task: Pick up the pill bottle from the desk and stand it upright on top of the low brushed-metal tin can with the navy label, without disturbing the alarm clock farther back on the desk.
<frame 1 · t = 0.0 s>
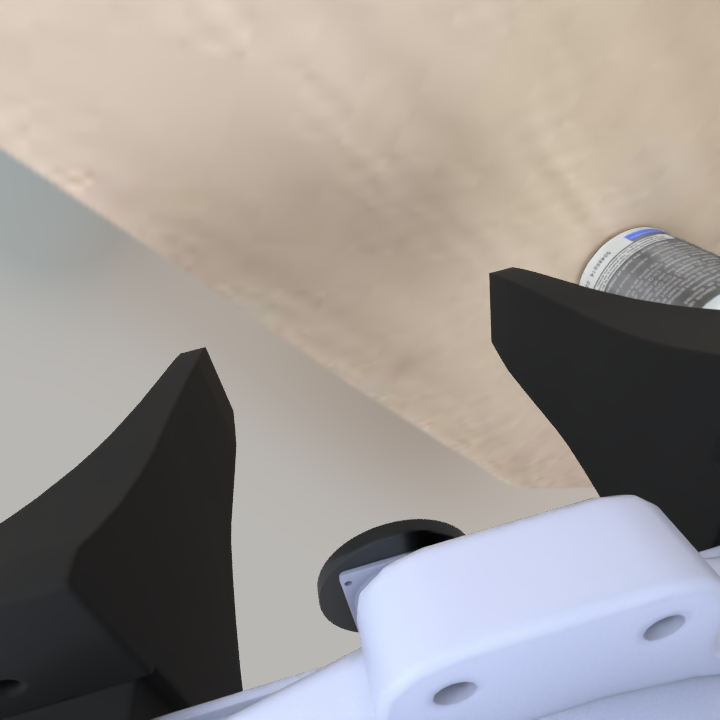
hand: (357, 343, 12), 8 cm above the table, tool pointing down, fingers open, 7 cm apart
pill bottle: (621, 274, 22), on the table
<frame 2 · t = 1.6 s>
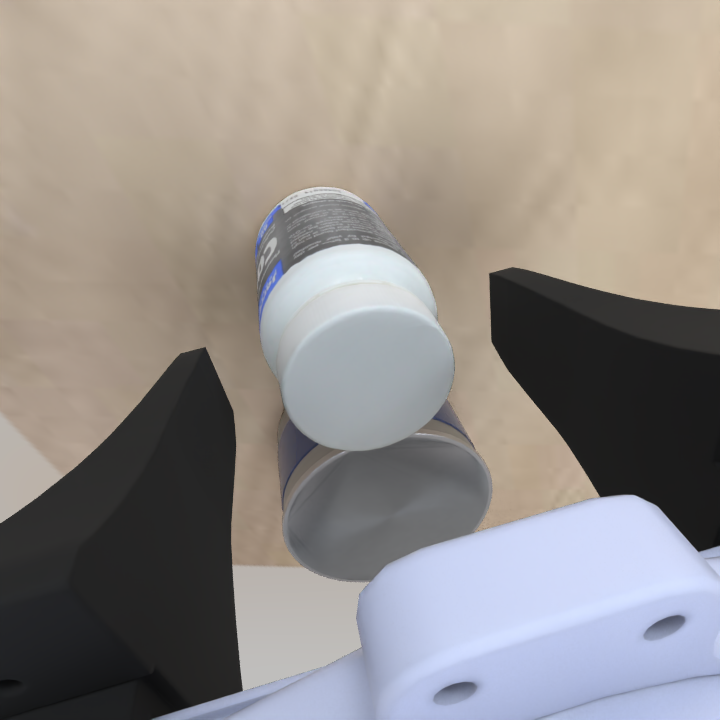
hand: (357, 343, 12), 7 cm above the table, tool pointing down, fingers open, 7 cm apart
pill bottle: (320, 250, 18), on the table
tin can: (364, 430, 23), on the table
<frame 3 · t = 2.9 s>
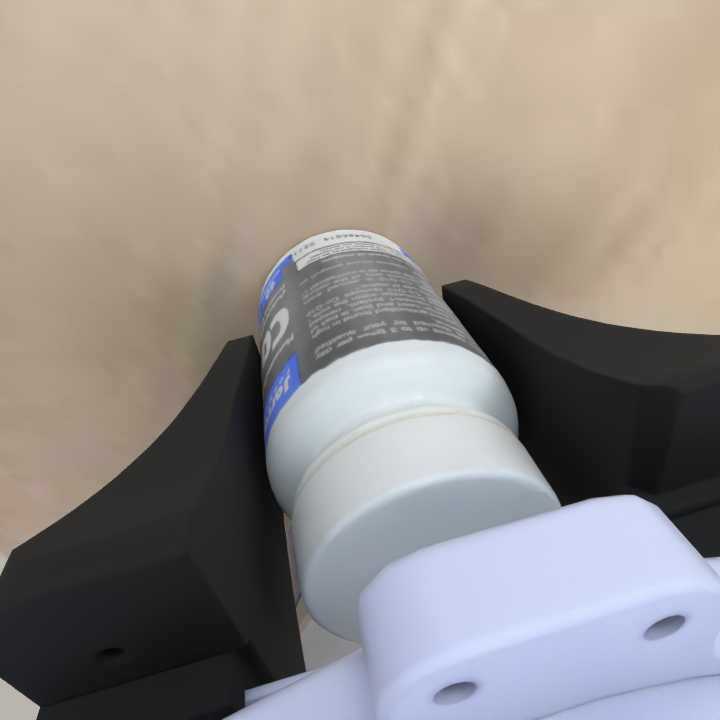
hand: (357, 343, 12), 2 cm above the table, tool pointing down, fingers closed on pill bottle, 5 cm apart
pill bottle: (341, 305, 14), on the table, touching gripper
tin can: (389, 507, 19), on the table
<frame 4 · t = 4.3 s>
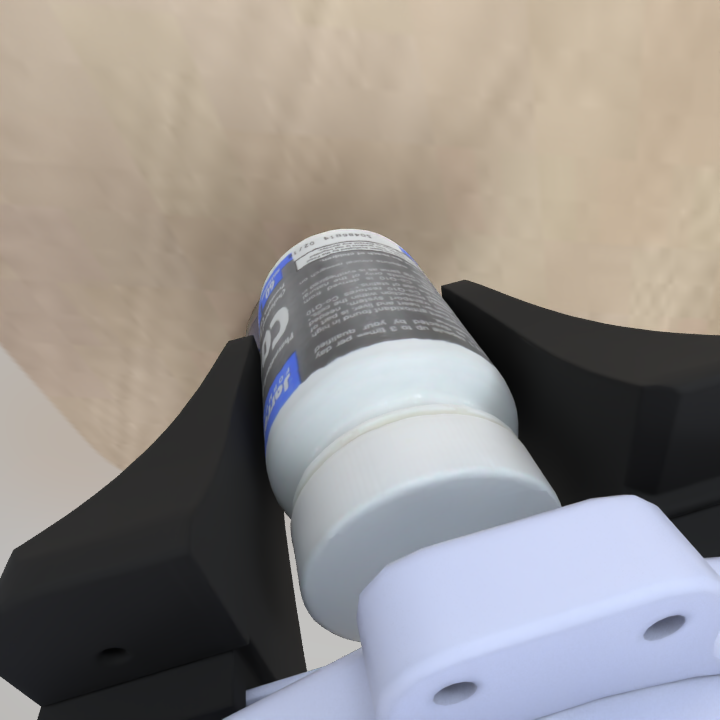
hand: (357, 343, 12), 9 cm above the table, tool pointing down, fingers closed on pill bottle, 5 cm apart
pill bottle: (341, 304, 14), point 7 cm above the table, touching gripper
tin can: (332, 342, 23), on the table
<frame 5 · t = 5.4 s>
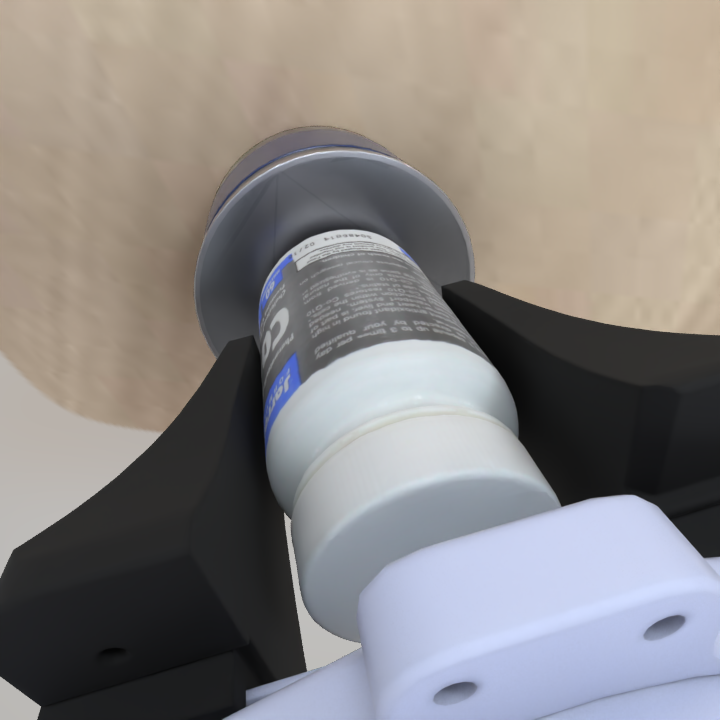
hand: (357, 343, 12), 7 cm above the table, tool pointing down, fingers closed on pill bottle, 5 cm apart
pill bottle: (341, 305, 14), point 5 cm above the table, touching gripper
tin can: (319, 242, 18), on the table
when the fingers open (7 cm above the table, at t = 6.0 s): pill bottle stays where it is, resting on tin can.
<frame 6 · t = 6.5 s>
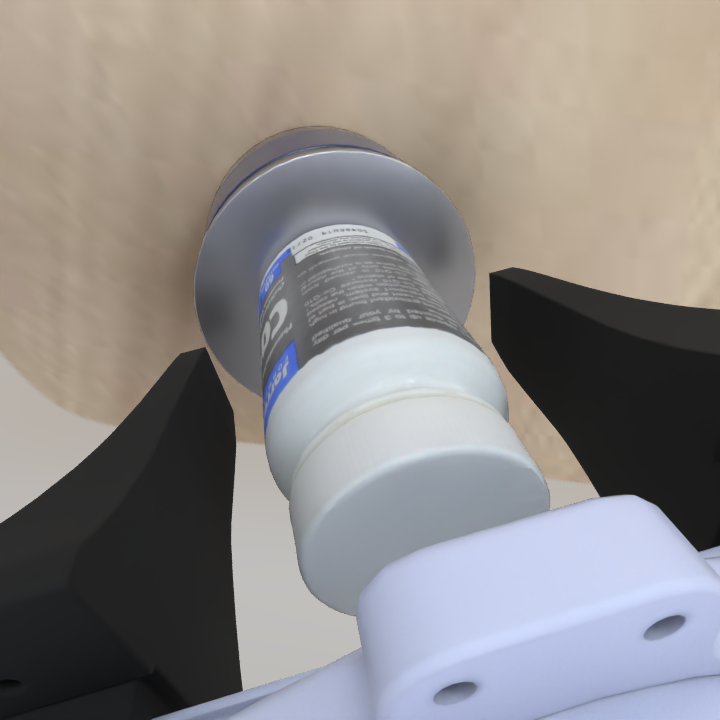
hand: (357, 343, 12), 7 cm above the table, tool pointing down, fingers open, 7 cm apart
pill bottle: (338, 298, 14), point 5 cm above the table, touching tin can
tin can: (319, 243, 18), on the table, touching pill bottle
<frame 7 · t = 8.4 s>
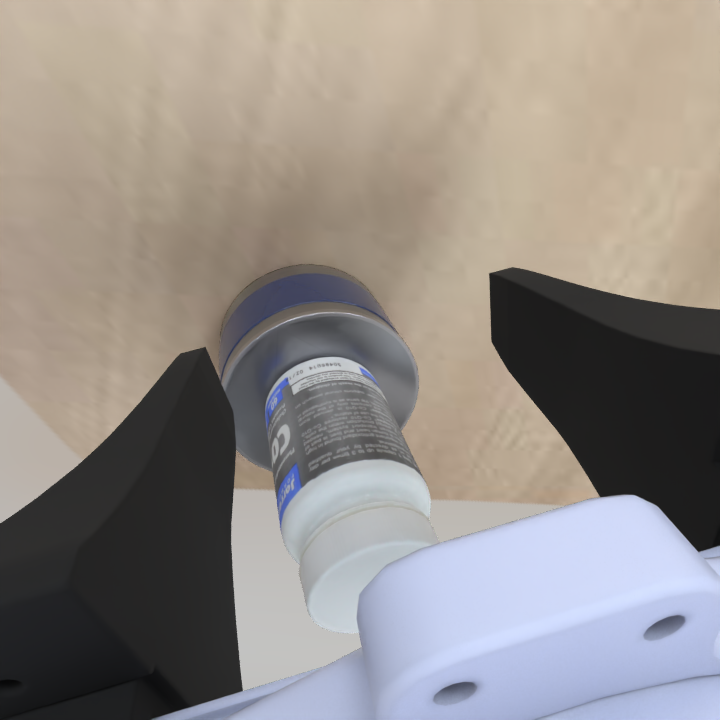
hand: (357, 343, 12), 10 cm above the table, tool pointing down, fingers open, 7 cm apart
pill bottle: (321, 400, 20), point 5 cm above the table, touching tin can
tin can: (304, 341, 24), on the table, touching pill bottle
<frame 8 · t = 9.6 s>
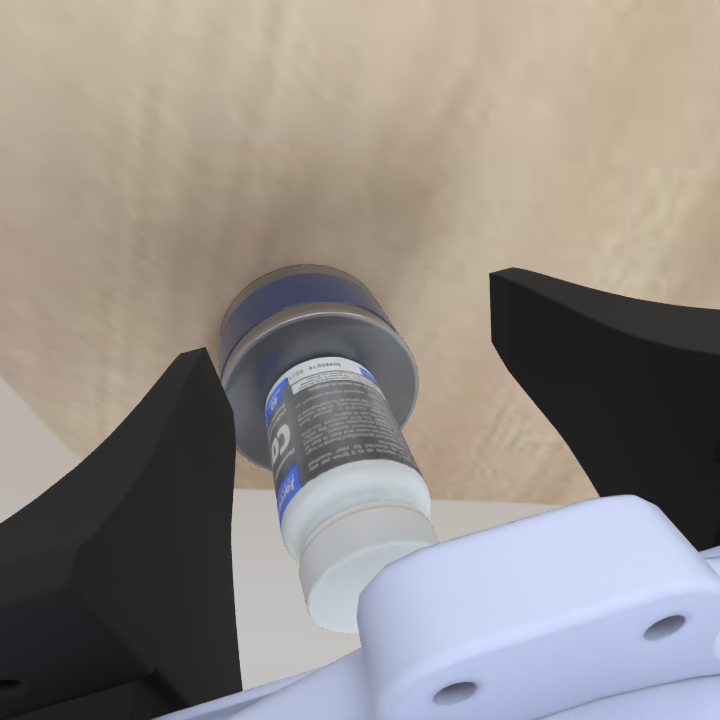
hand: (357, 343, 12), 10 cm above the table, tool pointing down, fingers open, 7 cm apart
pill bottle: (321, 400, 20), point 5 cm above the table, touching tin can
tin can: (304, 341, 24), on the table, touching pill bottle
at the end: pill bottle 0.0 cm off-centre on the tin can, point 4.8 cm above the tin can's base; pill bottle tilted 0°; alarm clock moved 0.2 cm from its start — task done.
